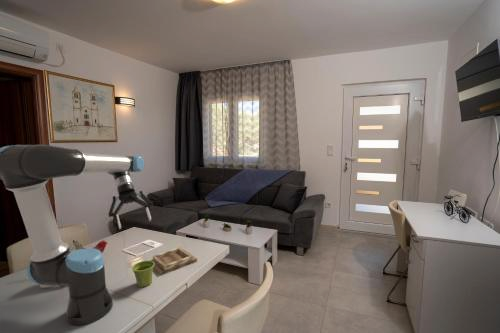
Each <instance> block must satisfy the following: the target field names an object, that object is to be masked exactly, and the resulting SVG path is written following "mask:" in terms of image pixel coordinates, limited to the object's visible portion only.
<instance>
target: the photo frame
mask: <svg viewBox="0 0 500 333" xmlns="http://www.w3.org/2000/svg"><path fill="white" fill-rule="evenodd" d="M141 244H143V245H146V246H149V247H152V248H149V249H148V250H145V251H143V252H141V253H140V252H139V253H138V254H136V253H133V252H132V251H129V250H128V249H132V248H135V247H137V246H139V245H141ZM162 246H164V244H163V243H161V242H158V241H155V240H152V239H147V240H143V241H142V242H139V243H137V244H134V245H131V246H128V247H126V248H123V249H122V251H123V252H125V253H128V254H130V255H132V256H134V257H138V256H140V255H143V254H145V253H147V252H150V251H152V250H155V249H157V248H160V247H162Z"/></svg>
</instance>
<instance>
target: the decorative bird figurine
mask: <svg viewBox="0 0 500 333" xmlns="http://www.w3.org/2000/svg"><path fill="white" fill-rule="evenodd" d="M108 244H109V242H107V241H105V240H101V241H99V242H98V243H97V244H96V245H95V246H93V247H92V248H94V249H97V250H99V251H101V253H102V254H103V253H104V252H105V249H106V247H107V245H108Z"/></svg>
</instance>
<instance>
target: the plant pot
mask: <svg viewBox="0 0 500 333" xmlns="http://www.w3.org/2000/svg"><path fill="white" fill-rule="evenodd" d="M153 266H154V262H153V261H150V260H142V261H140V262H139V261H138V262H136V263H134V264H133V265H132V267H131V271H133V273H134V276H135V281H136V284H137V287H140V288H144V287H148V286H150V285H151V284H152V282H153V274H154V272H153V271H154V269H153Z"/></svg>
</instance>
